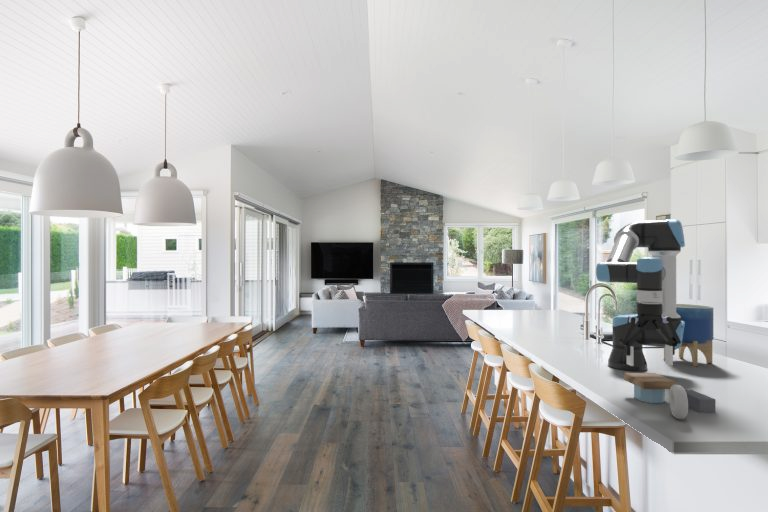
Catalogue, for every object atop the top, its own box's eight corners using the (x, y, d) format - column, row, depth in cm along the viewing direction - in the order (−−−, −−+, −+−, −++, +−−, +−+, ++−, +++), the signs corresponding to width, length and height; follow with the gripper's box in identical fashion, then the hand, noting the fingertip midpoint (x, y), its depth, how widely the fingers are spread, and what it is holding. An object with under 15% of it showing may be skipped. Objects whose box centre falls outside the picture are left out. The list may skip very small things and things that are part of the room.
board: (624, 379, 153) (624, 373, 153) (654, 379, 153) (654, 373, 153) (643, 389, 142) (643, 381, 142) (676, 388, 142) (676, 381, 142)
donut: (667, 412, 135) (667, 380, 135) (680, 413, 133) (680, 381, 133) (675, 423, 125) (675, 388, 125) (689, 425, 124) (690, 390, 124)
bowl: (629, 395, 151) (629, 380, 152) (653, 395, 152) (653, 380, 152) (645, 403, 143) (645, 387, 143) (669, 403, 143) (669, 387, 143)
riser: (677, 401, 145) (677, 389, 145) (691, 401, 145) (691, 389, 145) (699, 412, 135) (699, 399, 135) (715, 412, 135) (715, 399, 135)
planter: (721, 368, 191) (721, 308, 191) (671, 365, 197) (671, 307, 197) (703, 359, 209) (703, 304, 210) (657, 356, 215) (658, 303, 215)
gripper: (619, 304, 144) (620, 368, 144) (693, 303, 144) (693, 367, 145) (607, 301, 151) (607, 362, 151) (677, 301, 152) (677, 361, 152)
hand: (649, 364), depth 148 cm, fingers open, 13 cm apart
